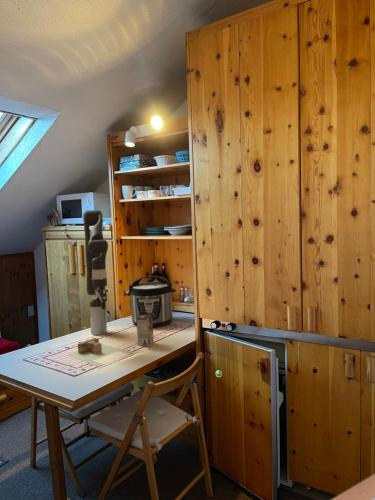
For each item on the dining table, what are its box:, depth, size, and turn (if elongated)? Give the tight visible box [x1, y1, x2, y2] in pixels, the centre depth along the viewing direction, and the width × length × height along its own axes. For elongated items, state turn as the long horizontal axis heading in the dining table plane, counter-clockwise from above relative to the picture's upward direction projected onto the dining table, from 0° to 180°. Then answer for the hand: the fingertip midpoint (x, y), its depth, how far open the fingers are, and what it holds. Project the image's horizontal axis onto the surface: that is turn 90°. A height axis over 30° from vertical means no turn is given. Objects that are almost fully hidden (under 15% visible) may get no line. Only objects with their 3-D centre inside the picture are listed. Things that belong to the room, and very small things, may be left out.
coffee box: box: [136, 315, 155, 349], centre depth 208 cm, size 9×6×16 cm
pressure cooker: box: [125, 275, 176, 328], centre depth 252 cm, size 30×28×32 cm
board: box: [66, 343, 134, 369], centre depth 194 cm, size 27×22×1 cm
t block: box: [77, 337, 102, 354], centre depth 198 cm, size 10×11×5 cm
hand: (101, 307), depth 204 cm, fingers open, 8 cm apart
